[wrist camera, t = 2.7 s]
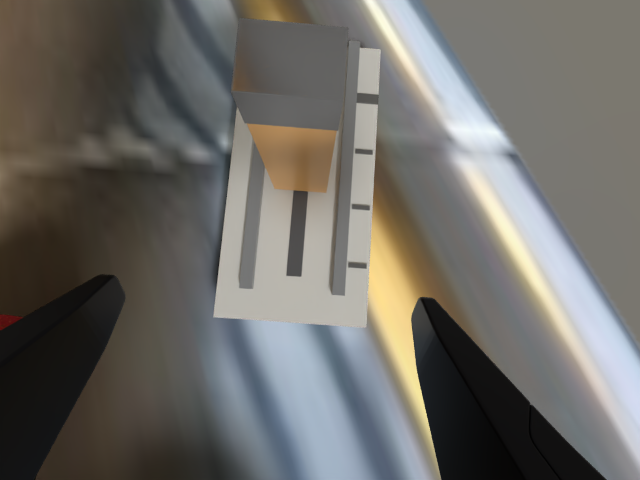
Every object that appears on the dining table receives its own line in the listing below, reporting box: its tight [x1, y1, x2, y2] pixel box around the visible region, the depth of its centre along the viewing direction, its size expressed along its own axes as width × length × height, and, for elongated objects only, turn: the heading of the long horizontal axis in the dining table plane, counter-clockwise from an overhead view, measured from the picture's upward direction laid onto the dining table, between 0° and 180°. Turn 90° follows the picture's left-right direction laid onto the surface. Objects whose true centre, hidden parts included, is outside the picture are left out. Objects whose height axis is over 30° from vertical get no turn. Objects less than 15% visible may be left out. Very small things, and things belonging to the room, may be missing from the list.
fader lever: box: [231, 18, 348, 193], centre depth 15 cm, size 3×4×11 cm
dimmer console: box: [214, 40, 381, 328], centre depth 22 cm, size 20×10×3 cm, turn 176°
